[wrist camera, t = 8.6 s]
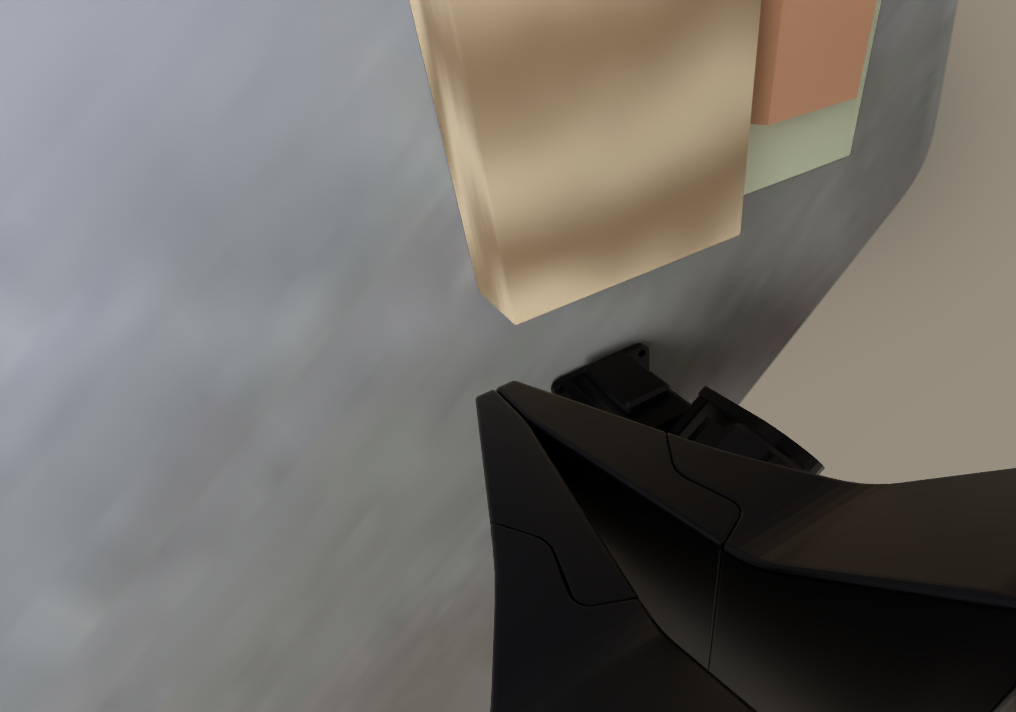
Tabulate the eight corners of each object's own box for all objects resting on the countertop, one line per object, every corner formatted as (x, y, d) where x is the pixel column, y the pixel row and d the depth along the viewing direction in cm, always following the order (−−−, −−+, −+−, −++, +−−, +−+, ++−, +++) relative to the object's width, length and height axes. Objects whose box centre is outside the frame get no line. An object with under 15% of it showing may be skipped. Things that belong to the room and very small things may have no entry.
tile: (768, 125, 23) (734, 122, 24) (856, 97, 24) (820, 96, 26) (799, -138, 18) (755, -120, 19) (908, -151, 20) (859, -134, 21)
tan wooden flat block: (680, 216, 26) (740, 234, 23) (479, 291, 23) (515, 324, 20) (691, -311, 16) (798, -407, 13) (336, -304, 13) (364, -428, 10)
